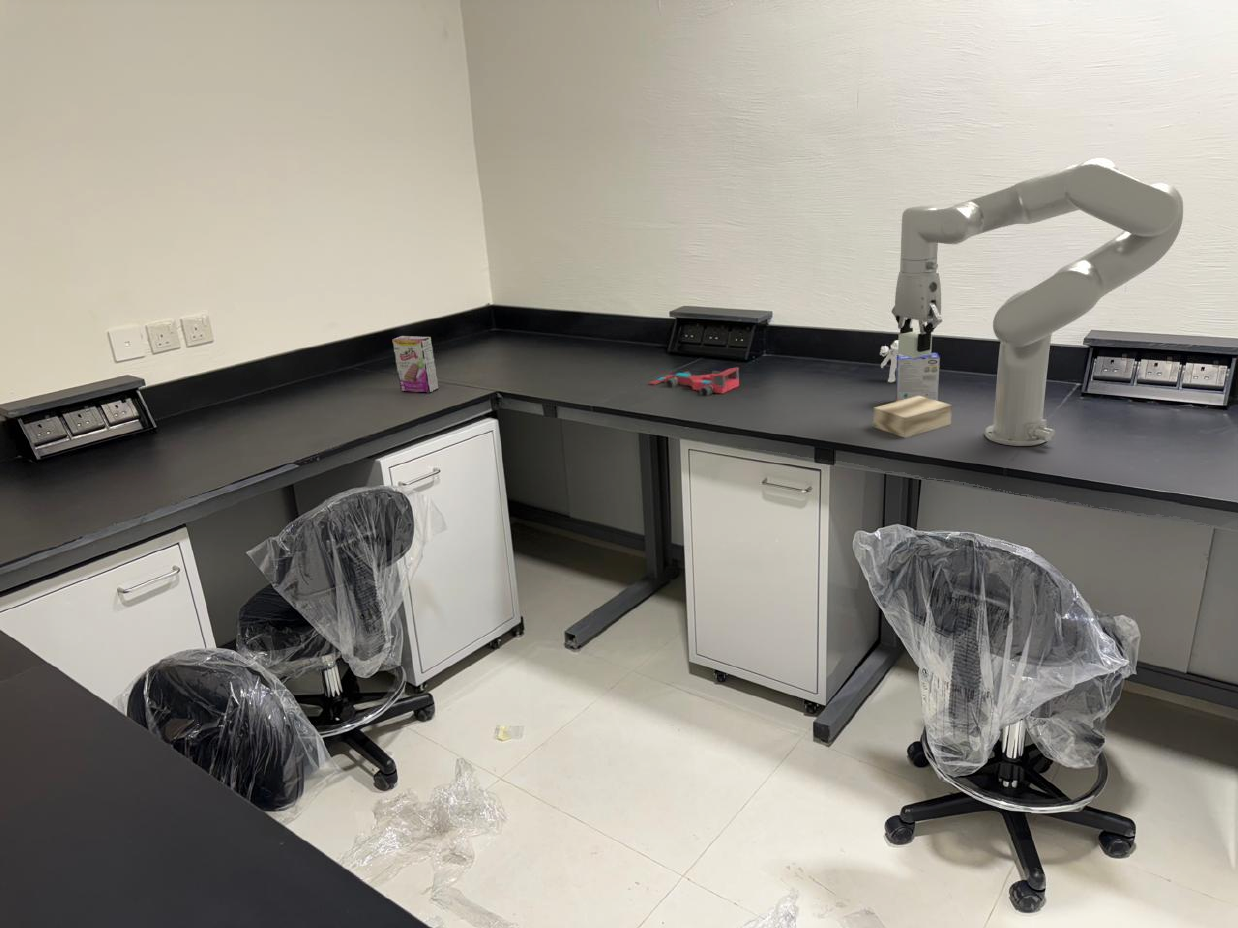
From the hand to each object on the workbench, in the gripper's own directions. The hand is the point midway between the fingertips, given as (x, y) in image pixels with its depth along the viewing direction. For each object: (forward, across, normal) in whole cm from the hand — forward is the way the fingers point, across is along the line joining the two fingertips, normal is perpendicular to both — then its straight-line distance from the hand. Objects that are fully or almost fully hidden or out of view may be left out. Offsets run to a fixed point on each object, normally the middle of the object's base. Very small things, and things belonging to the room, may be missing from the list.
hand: (914, 347), depth 196 cm
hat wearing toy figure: (+19, +30, -21) cm, 41 cm away
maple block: (+19, 0, 0) cm, 19 cm away
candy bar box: (+19, +111, +91) cm, 145 cm away
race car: (+19, +62, +23) cm, 69 cm away
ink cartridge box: (+19, +12, -12) cm, 25 cm away
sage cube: (+2, 0, 0) cm, 2 cm away
